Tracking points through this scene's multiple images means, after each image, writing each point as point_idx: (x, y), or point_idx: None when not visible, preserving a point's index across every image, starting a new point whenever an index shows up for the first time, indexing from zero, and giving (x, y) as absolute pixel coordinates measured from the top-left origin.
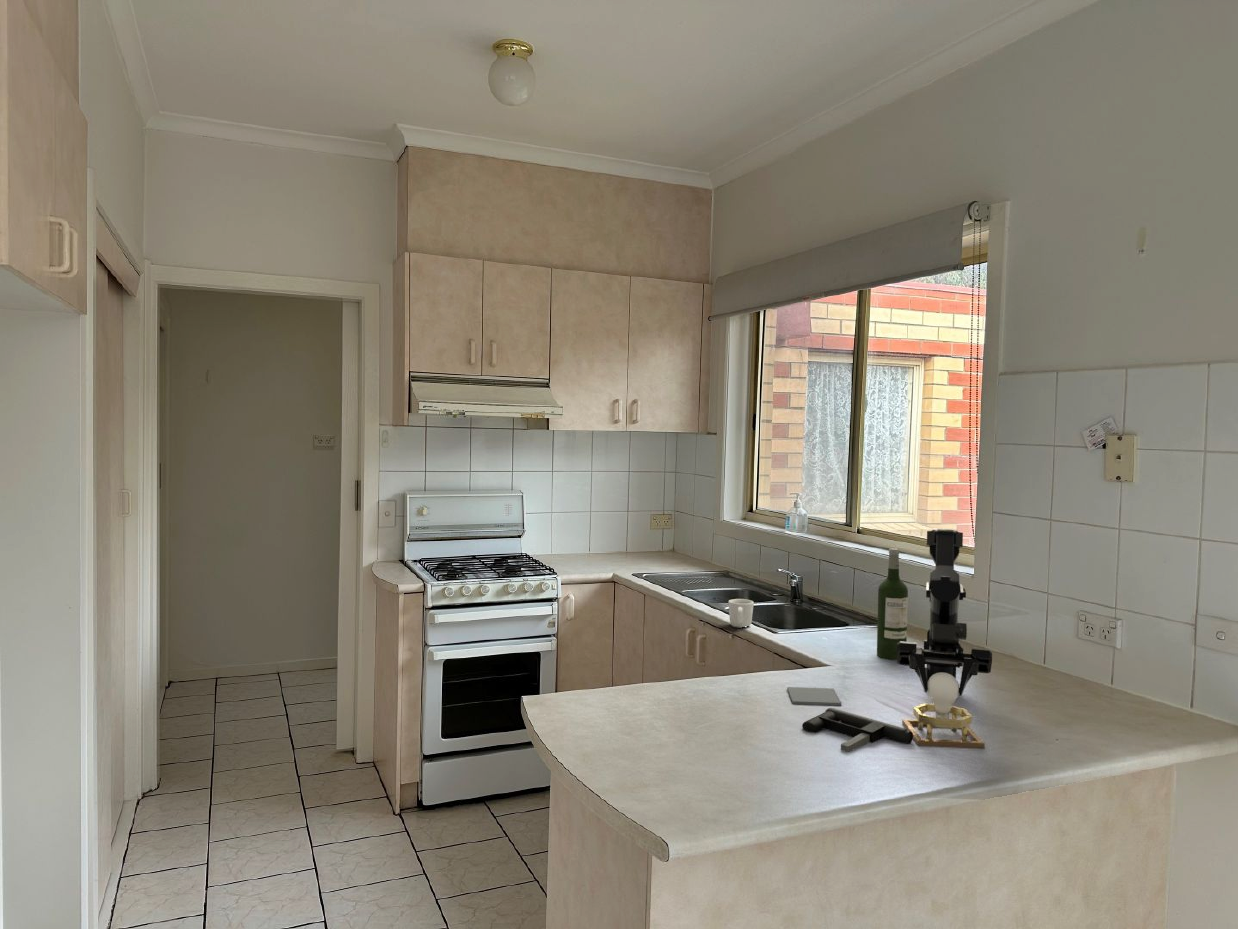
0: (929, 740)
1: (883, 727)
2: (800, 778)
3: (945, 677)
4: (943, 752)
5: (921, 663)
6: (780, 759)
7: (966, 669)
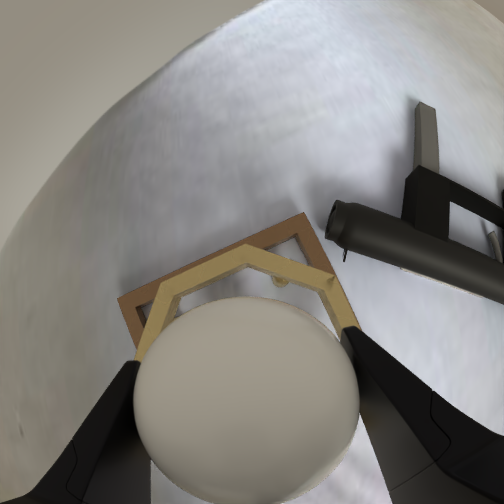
0: (272, 232)
1: (413, 221)
2: (398, 17)
3: (206, 369)
4: (224, 203)
5: (475, 460)
6: (456, 61)
7: (52, 498)
